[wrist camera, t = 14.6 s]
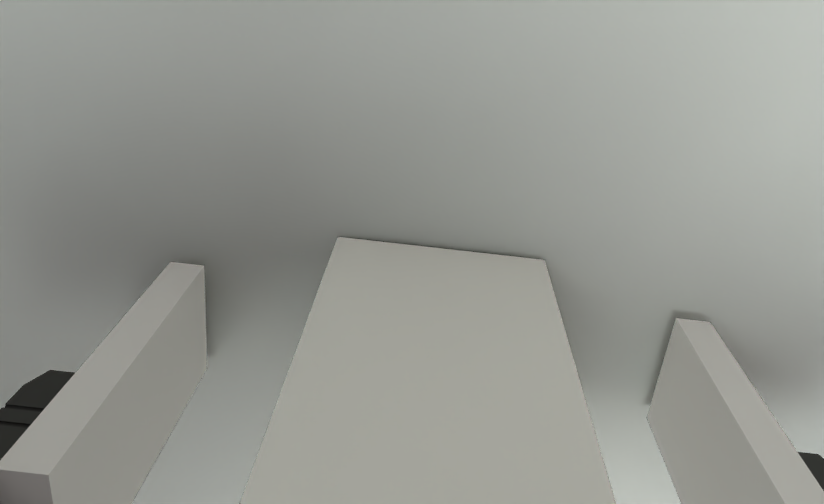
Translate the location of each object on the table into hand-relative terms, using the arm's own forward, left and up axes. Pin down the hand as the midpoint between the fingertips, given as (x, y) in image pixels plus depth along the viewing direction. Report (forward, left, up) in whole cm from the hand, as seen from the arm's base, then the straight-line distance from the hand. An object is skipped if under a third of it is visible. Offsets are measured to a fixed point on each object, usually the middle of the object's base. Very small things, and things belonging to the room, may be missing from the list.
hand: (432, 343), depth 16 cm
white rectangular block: (0, 0, 0) cm, 0 cm away
